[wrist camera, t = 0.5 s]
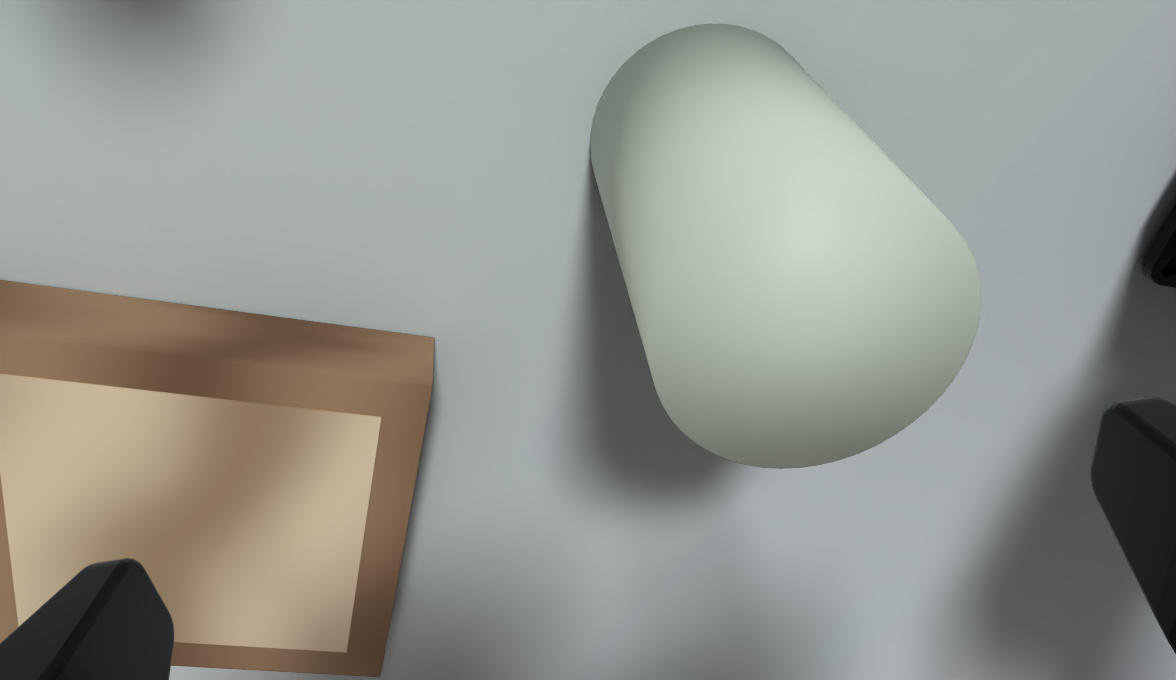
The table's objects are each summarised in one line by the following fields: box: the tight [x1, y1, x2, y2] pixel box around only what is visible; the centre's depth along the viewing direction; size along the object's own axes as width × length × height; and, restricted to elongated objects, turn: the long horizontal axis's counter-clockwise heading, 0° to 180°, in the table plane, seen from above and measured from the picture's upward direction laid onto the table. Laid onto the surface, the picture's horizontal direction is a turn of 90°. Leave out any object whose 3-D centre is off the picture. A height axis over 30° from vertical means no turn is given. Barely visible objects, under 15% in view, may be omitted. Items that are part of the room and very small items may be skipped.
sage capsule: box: [590, 24, 981, 469], centre depth 18 cm, size 5×5×8 cm
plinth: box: [0, 280, 434, 677], centre depth 23 cm, size 10×10×2 cm
